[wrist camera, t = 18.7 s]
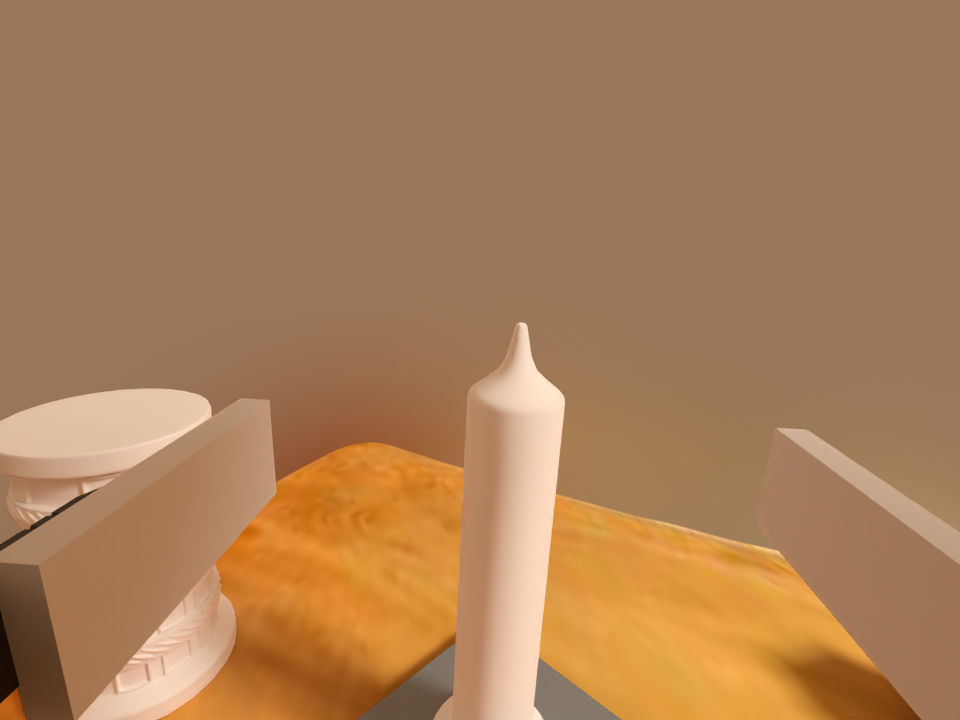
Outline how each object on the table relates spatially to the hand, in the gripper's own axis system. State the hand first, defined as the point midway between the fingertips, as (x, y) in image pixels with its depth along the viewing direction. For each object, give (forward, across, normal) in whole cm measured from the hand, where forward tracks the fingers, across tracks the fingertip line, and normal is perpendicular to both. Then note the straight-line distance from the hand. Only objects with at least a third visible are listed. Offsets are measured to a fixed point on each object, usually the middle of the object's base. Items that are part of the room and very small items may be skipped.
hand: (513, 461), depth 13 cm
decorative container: (+15, -24, -24) cm, 37 cm away
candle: (+10, 0, -23) cm, 25 cm away
